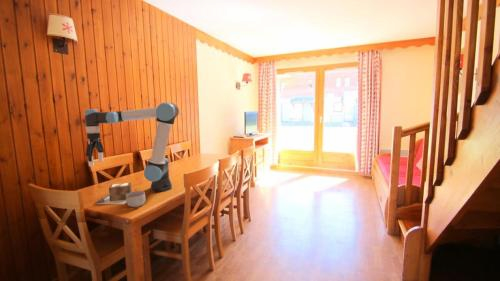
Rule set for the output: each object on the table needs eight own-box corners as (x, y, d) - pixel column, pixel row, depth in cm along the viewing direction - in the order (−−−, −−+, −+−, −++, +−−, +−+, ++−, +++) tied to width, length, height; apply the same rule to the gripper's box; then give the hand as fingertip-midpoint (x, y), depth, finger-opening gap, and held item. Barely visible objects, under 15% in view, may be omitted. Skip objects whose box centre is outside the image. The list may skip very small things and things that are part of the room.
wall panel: (138, 193, 178) (138, 191, 178) (124, 204, 158) (123, 201, 158) (113, 193, 178) (112, 191, 178) (95, 204, 158) (95, 201, 158)
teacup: (143, 208, 152) (143, 195, 151) (124, 210, 150) (123, 197, 149) (148, 200, 166) (147, 188, 165) (130, 201, 164) (129, 189, 163)
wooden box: (131, 195, 174) (130, 182, 173) (130, 199, 166) (129, 185, 165) (112, 197, 170) (111, 184, 169) (109, 201, 162) (108, 187, 161)
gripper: (96, 131, 180) (99, 160, 182) (76, 134, 155) (80, 168, 158) (107, 130, 181) (110, 159, 183) (89, 134, 156) (93, 167, 159)
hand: (96, 163), depth 171 cm, fingers open, 13 cm apart
